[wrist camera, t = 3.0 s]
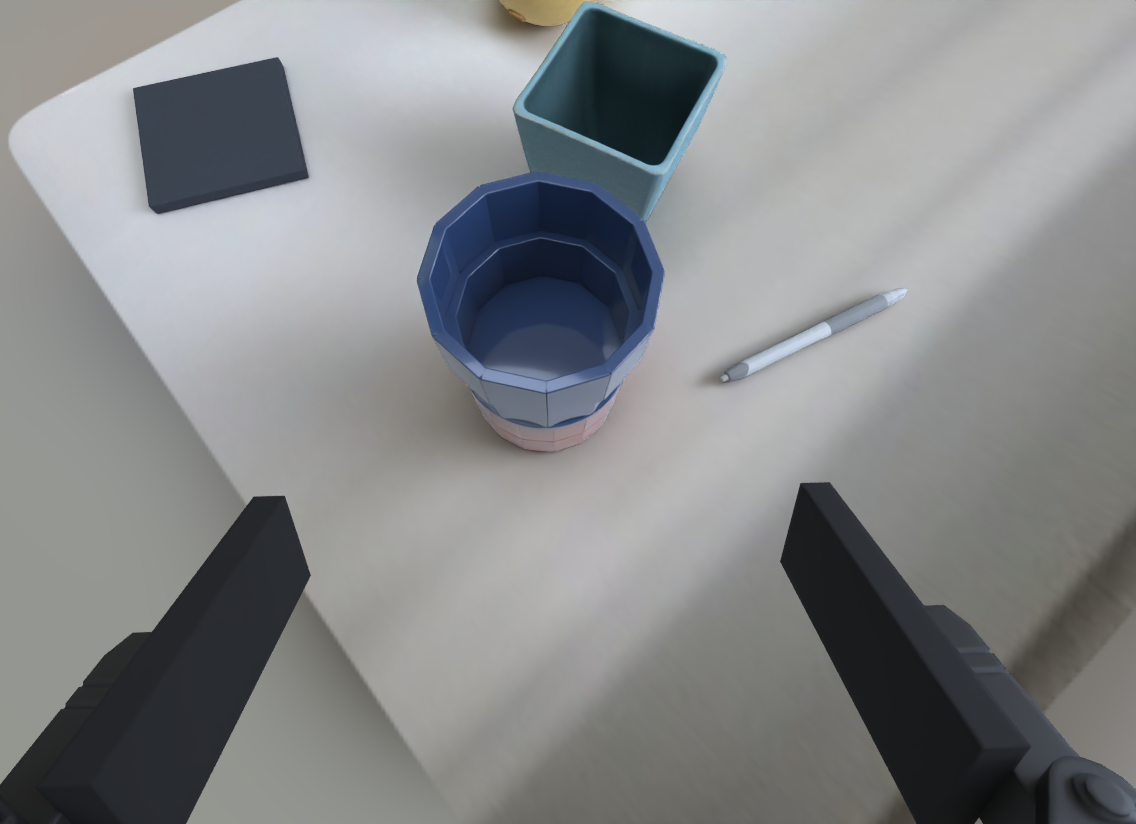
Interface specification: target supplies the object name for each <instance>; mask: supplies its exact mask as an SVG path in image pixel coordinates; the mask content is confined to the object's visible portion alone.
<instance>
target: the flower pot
mask: <svg viewBox="0 0 1136 824" xmlns="http://www.w3.org/2000/svg"><path fill="white" fill-rule="evenodd" d="M726 64H727V57H726V56H725V55H724V54H722V53H720V52H718V51H716V50H715V49H712V48H709V47H707V46H704V45H703V44H699V43H697V42H695V41H691V40H689V39H685V38H683V37H680V36H677V35H675V34H673V33H670V32H668V31H665V30H662V29H660V28H658V27H655V26H653V25H650V24H647V23H645V22H643V21H640V20H637V19H635V18H632V17H629V16H627V15H625V14H622V13H620V12H617V11H615V10H613V9H610V8H608V7H606V6H604V5H602V4H598V3H595V2H590V1H585V2H583V3H582V4H581V5H580V7H579V8H578V9H577V11H576V12H575V14H574V16H573V17H572V19H571V20H570V22H569V23H568V25H567V26H566V28H565V29H564V31H563V33H562V34H561V36H560V37H559V39H558V40H557V42H556V43H555V45H554V46H553V48H552V49H551V50H550V52H549V53H548V55H547V57H546V58H545V60H544V61H543V63H542V64H541V66H540V67H539V68H538V70H537V72H536V73H535V74H534V76H533V77H532V78H531V80H530V81H529V83H528V84H527V85H526V87H525V88H524V90H523V91H522V92H521V94H520V95H519V96H518V98H517V99H516V101H515V104H514V106H513V112H514V115H515V119H516V123H517V127H518V131H519V135H520V138H521V142H522V146H523V150H524V153H525V157H526V160H527V164H528V167H529V169H530V172H531V173H532V172H536V171H537V172H539V171H540V172H545V173H550V174H555V175H560V176H565V177H570V178H575V179H580V180H585V181H590V182H595V183H596V184H599V185H600V186H602V187H603V188H604V189H605V190H607V191H608V192H609V193H611V194H612V195H613V196H614V197H616V198H617V199H618V200H620V201H621V202H622V203H623V204H625V205H626V206H627V207H629V208H630V209H631V210H632V211H634V212H635V213H636V214H638V215H639V216H640V217H641V218H642V220H644V222H646V221H647V219H648V218H649V216H650V214H651V212H652V210H653V208H654V207H655V205H656V203H657V201H658V199H659V197H660V196H661V194H662V192H663V190H664V188H665V187H666V185H667V183H668V181H669V180H670V178H671V176H672V174H673V172H674V170H675V169H676V167H677V165H678V163H679V161H680V160H681V158H682V156H683V154H684V152H685V151H686V149H687V147H688V145H689V143H690V142H691V140H692V138H693V136H694V134H695V133H696V131H697V129H698V127H699V124H700V122H701V120H702V118H703V116H704V113H705V111H706V109H707V107H708V104H709V102H710V100H711V98H712V96H713V93H714V91H715V89H716V87H717V85H718V82H719V80H720V78H721V76H722V73H723V71H724V69H725V67H726Z"/></svg>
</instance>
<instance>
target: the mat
mask: <svg viewBox="0 0 1136 824" xmlns="http://www.w3.org/2000/svg"><path fill="white" fill-rule="evenodd" d="M133 92H134V99H135V106H136V114H137V121H138V129H139V136H140V144H141V151H142V158H143V166H144V173H145V181H146V188H147V196H148V203H149V207H150V208H151V209H152V210H153V211H155V212H156V213H162V212H167V211H171V210H175V209H179V208H183V207H187V206H192V205H196V204H200V203H204V202H208V201H212V200H217V199H221V198H225V197H229V196H233V195H237V194H242V193H246V192H250V191H254V190H258V189H262V188H267V187H271V186H275V185H279V184H283V183H287V182H292V181H296V180H300V179H304V178H308V173H307V169H306V164H305V160H304V156H303V151H302V147H301V142H300V138H299V134H298V129H297V125H296V120H295V116H294V112H293V107H292V103H291V99H290V94H289V90H288V85H287V81H286V77H285V72H284V68H283V65H282V63H281V61H280V60H279V58H278V57H276V58H272V59H267V60H262V61H258V62H253V63H248V64H244V65H239V66H235V67H230V68H225V69H221V70H216V71H211V72H207V73H202V74H197V75H193V76H188V77H183V78H179V79H174V80H169V81H165V82H160V83H155V84H151V85H146V86H141V87H137V88H133Z"/></svg>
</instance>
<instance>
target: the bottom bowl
mask: <svg viewBox="0 0 1136 824" xmlns="http://www.w3.org/2000/svg"><path fill="white" fill-rule="evenodd" d="M619 389H620V388H619ZM618 391H619V390H618ZM471 393H472V392H471ZM617 394H618V392H617V393H616V395H615V396H614V397H613V399H612V400H611V401H610V402H609V403H608V404H607V405H606V406H605V407H604V408H603V409H602V410H601V411H600V412H598V413H597V414H595V415H594V416H593V417H591V418H589V419H587V420H585V421H584V422H582V423H579V424H577V425H574V426H571V427H567V428H563V429H558V430H548V431H546V430H531V429H525V428H521V427H518V426H514V425H512V424H509V423H507V422H505V421H503V420H501V419H499V418H498V417H496V416H494V415H493V414H492V413H490V412H489V411H488V410H487V409H485V408H484V407H483V406H482V405H481V404H480V403H479V402H478V401H477V399H476V398H475V397H474V395H473V394H472V395H473V397H474V399H475V401H476V403H477V405H478V407H479V409H480V412H481V414H482V415H483V417H484V418H485V419H486V421H487V422H488V423H489V424H490V425H491V427H492V428H493V429H494V430H495V431H496V433H497V434H498V435H499V436H501V437H502V438H504V439H506V440H508V441H510V442H512V443H514V444H515V445H517V446H519V447H521V448H523V449H526V450H538V451H549V452H553V451H554V452H555V451H558V450H562V449H565V448H568V447H571V446H575V445H578V444H580V443H582V442H583V441H585V440H586V439H587V438H588V437H589V436H591V435H592V434H593V433H594V432H595V431H597V430H598V429H599V428H600V427H601V426H602V425H603V424H604V422H605V420H606V418H607V416H608V414H609V412H610V410H611V408H612V406H613V404H614V402H615V399H616V397H617Z"/></svg>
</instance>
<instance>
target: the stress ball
mask: <svg viewBox="0 0 1136 824" xmlns="http://www.w3.org/2000/svg"><path fill="white" fill-rule="evenodd" d="M585 1H590V2H595V3H596V2H597V1H598V0H499V2H500V3H501V4H502V5H503V6H504V7H505V8H506V9H507V10H508V11H509V13H510V14H511V15H512V16H513V17H515V18H516V19H518V20H519V21H523V22H525V21H526V22H529V23H532V24H535V25H540V26H557V25H562V24H565V23H568V22H570V20H571V19H572V17H573V16H574V14H575V12H576V11H577V9H578V8H579V7H580V5H581V4H582V3H583V2H585Z"/></svg>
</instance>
